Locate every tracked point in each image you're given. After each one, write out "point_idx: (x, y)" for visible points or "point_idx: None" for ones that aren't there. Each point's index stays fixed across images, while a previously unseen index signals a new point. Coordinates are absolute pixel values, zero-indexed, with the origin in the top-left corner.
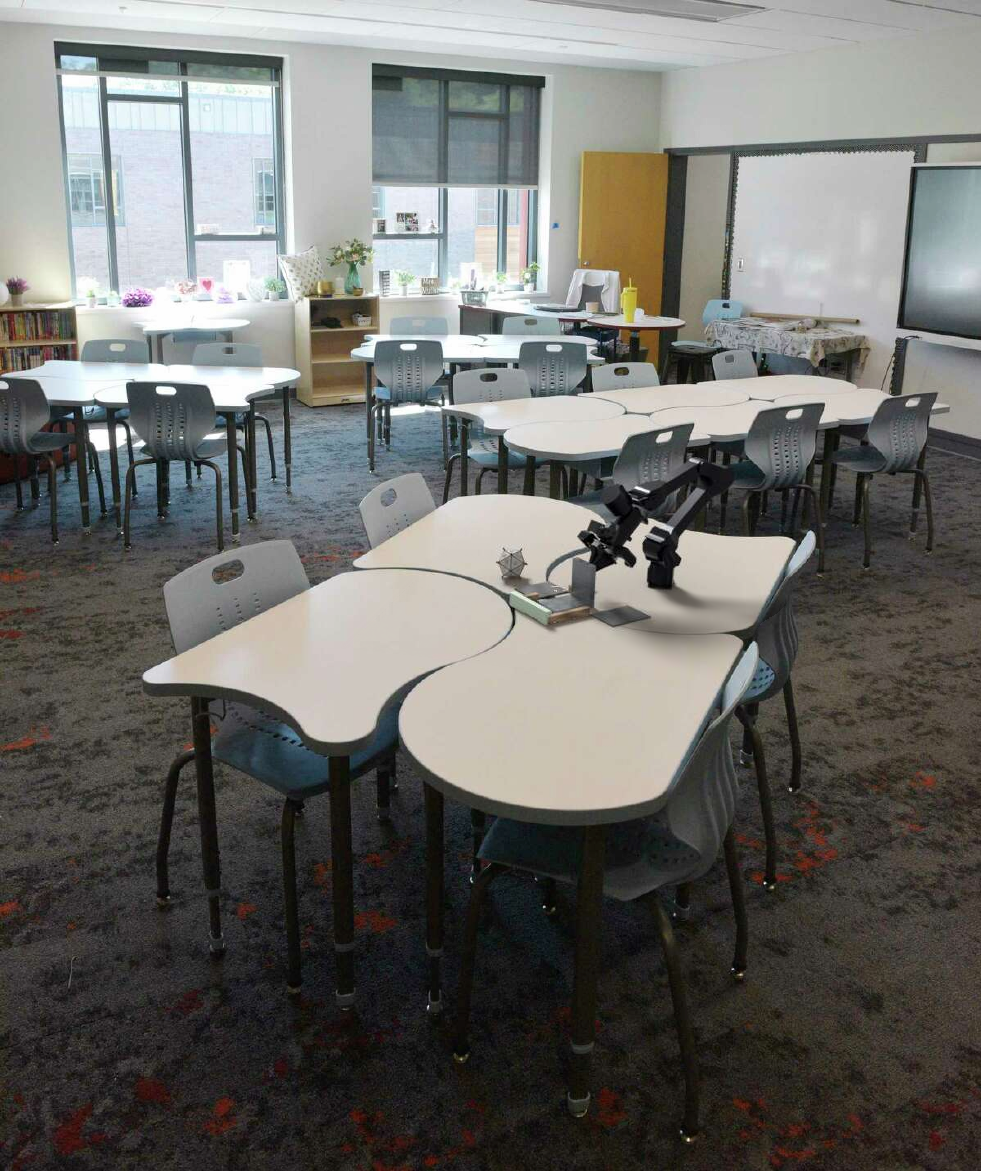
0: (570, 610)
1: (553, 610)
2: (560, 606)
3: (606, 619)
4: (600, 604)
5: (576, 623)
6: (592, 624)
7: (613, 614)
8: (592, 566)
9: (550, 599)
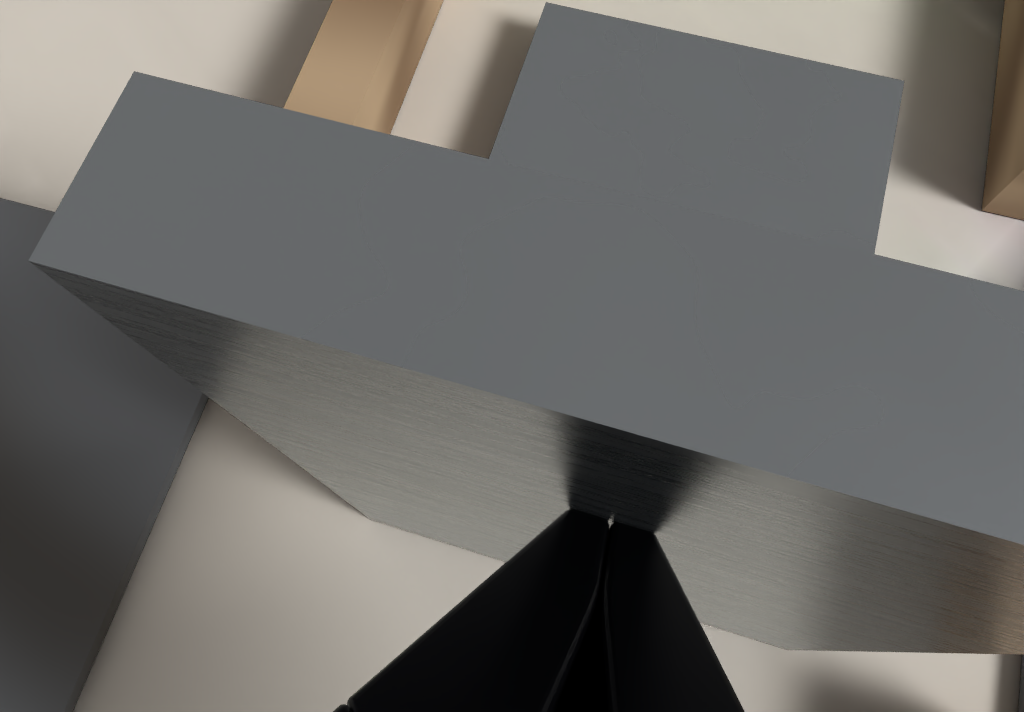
0: (370, 15)
1: (585, 13)
2: (609, 138)
3: (19, 256)
4: (356, 663)
5: (258, 24)
6: (111, 99)
7: (12, 435)
8: (120, 131)
9: (861, 226)
